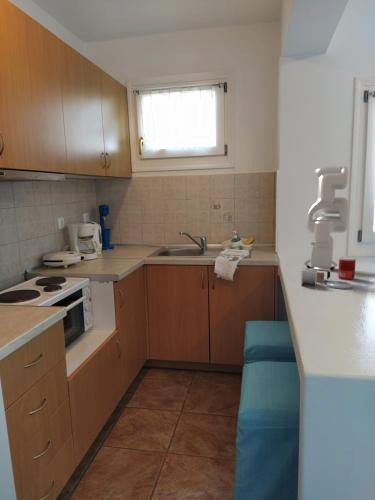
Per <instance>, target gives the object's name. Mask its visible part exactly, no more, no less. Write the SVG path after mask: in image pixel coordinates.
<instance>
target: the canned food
mask: <svg viewBox="0 0 375 500" xmlns="http://www.w3.org/2000/svg"><path fill="white" fill-rule="evenodd" d="M356 261H357V260H356V258H355V257H351V256H350V257H349V256H340V257H339V258H338V271H337V272H338V273H337V275H338V276H337V277H338V279H339V280H344V281H352V280H355V274H356Z"/></svg>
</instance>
